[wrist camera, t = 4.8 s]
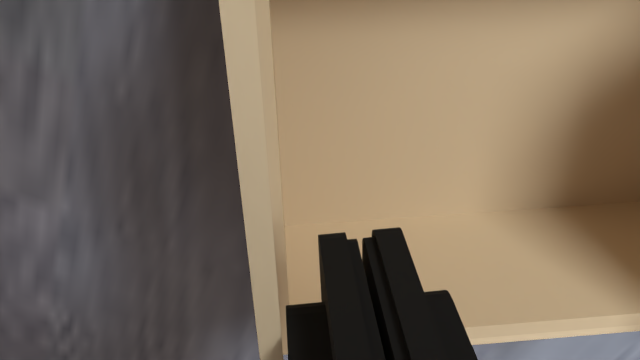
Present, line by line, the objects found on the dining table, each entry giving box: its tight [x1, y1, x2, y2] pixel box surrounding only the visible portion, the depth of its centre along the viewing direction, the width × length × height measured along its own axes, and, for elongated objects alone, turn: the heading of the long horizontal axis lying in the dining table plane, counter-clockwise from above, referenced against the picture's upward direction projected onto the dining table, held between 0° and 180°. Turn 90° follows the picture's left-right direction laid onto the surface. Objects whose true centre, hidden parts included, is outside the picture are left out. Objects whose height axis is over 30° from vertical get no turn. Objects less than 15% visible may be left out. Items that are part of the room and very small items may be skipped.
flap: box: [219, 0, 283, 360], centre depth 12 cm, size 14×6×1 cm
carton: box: [254, 0, 640, 355], centre depth 18 cm, size 16×18×7 cm
